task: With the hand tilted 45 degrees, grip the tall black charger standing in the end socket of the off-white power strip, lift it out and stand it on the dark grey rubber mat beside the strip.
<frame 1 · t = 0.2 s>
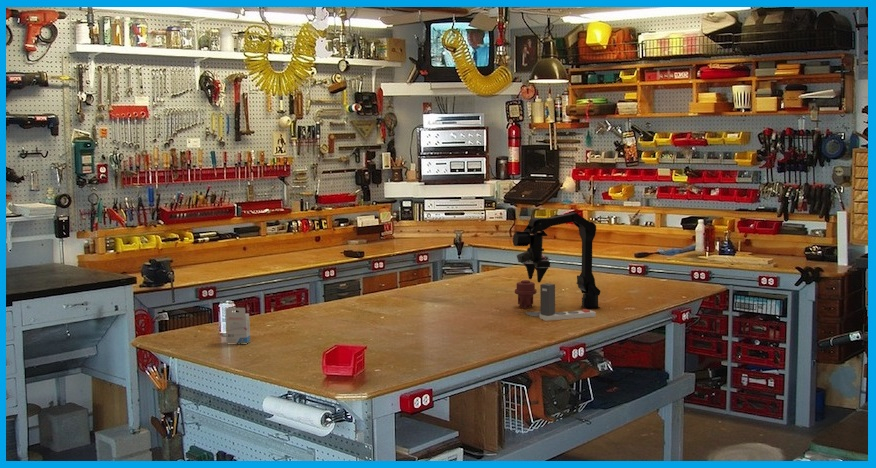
hand: (534, 280, 459), 14 cm above the workbench, tool pointing down, fingers open, 9 cm apart
charger: (547, 314, 446), point 2 cm above the workbench, touching power strip
power strip: (567, 317, 449), on the workbench
ink box: (238, 343, 407), on the workbench
mat: (536, 314, 456), on the workbench
mechanical component: (525, 307, 474), on the workbench
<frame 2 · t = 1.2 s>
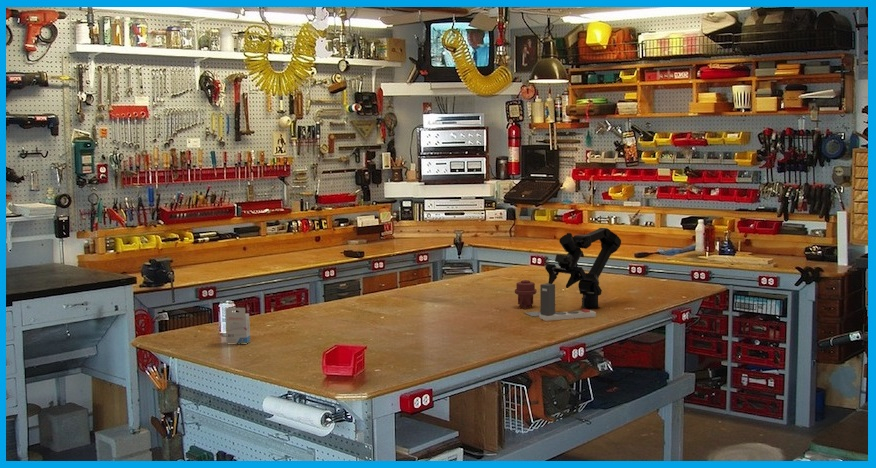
hand: (557, 286, 450), 13 cm above the workbench, tool tilted 45°, fingers open, 9 cm apart
nothing on the workbench moved.
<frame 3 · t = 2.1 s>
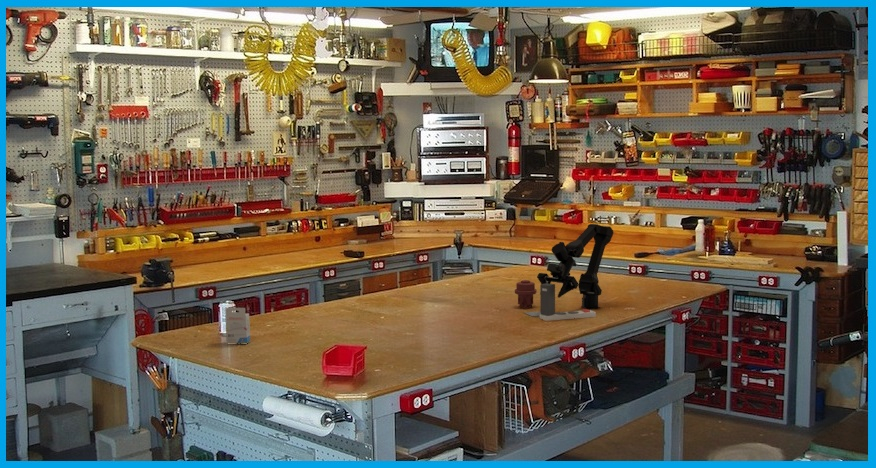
hand: (549, 295, 446), 10 cm above the workbench, tool tilted 45°, fingers open, 9 cm apart
nothing on the workbench moved.
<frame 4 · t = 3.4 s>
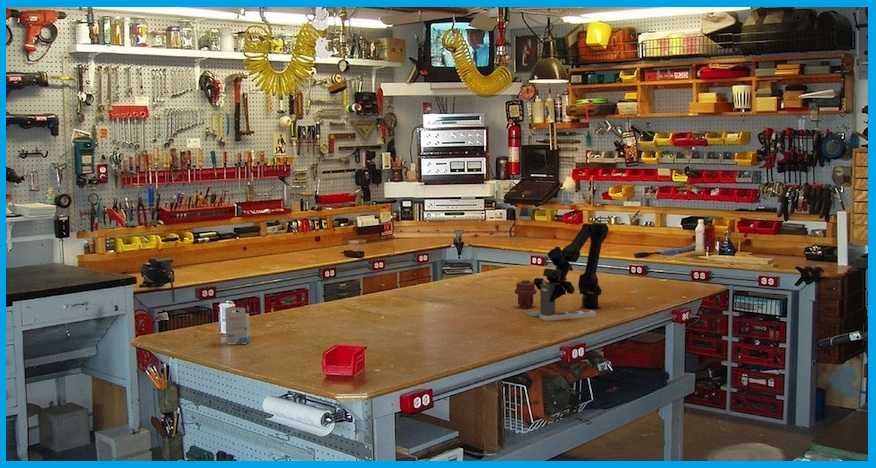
hand: (545, 301, 444), 8 cm above the workbench, tool tilted 45°, fingers closed on charger, 4 cm apart
charger: (547, 314, 446), point 2 cm above the workbench, touching gripper, power strip
everything else where it was.
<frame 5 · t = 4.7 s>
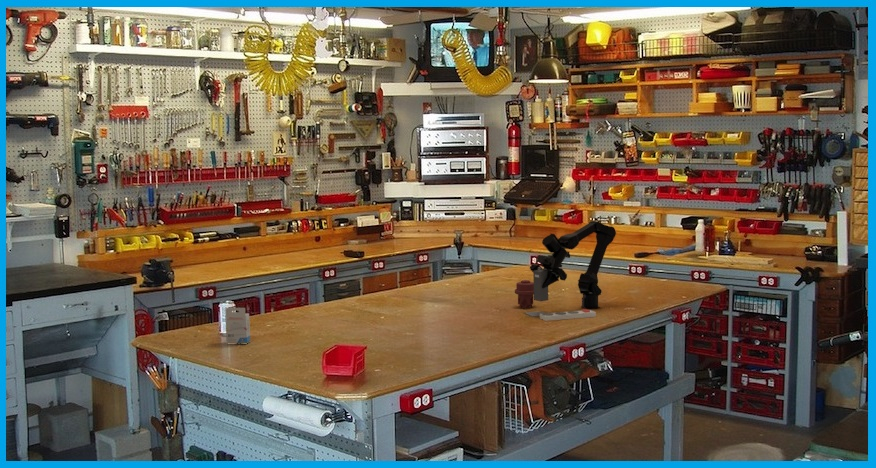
hand: (538, 287, 449), 13 cm above the workbench, tool tilted 45°, fingers closed on charger, 4 cm apart
charger: (541, 300, 451), point 7 cm above the workbench, touching gripper
everything else where it was.
when the fingers open (7 cm above the workbench, at t = 6.4 s): charger drops 1 cm, resting on mat.
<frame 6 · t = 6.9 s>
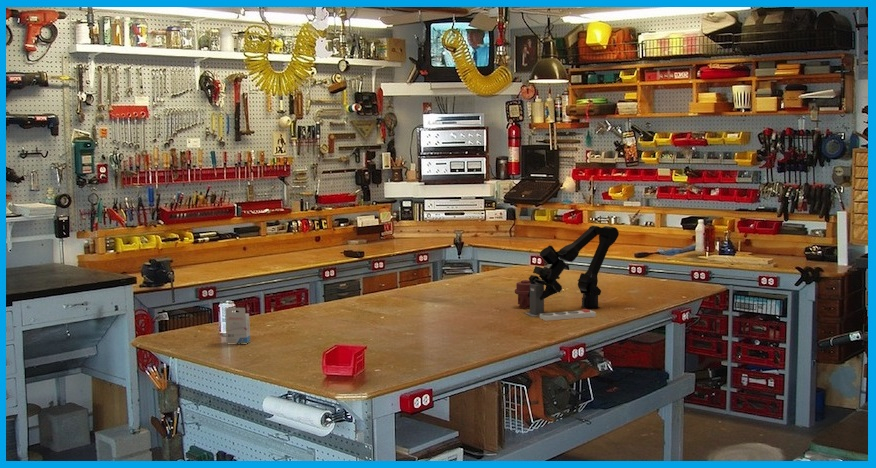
hand: (534, 298, 455), 8 cm above the workbench, tool tilted 45°, fingers open, 9 cm apart
charger: (536, 313, 456), resting on mat
everything else where it was.
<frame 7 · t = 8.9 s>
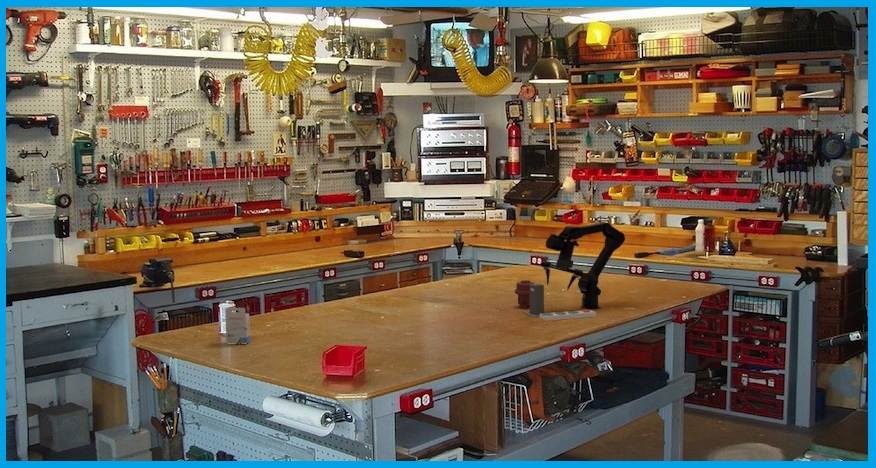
hand: (557, 287, 460), 11 cm above the workbench, tool tilted 20°, fingers open, 9 cm apart
nothing on the workbench moved.
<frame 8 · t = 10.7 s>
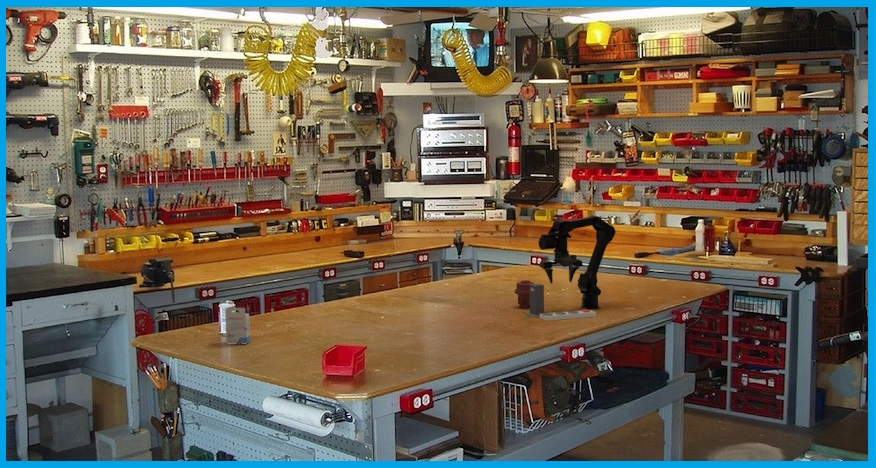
hand: (561, 282, 461), 13 cm above the workbench, tool pointing down, fingers open, 9 cm apart
nothing on the workbench moved.
at the end: charger 0.0 cm from the mat (horizontally); charger tilted 0°; charger resting on mat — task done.
